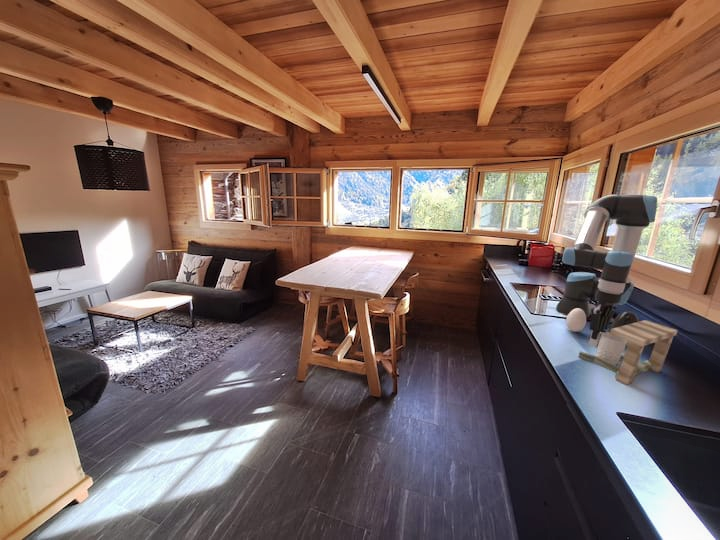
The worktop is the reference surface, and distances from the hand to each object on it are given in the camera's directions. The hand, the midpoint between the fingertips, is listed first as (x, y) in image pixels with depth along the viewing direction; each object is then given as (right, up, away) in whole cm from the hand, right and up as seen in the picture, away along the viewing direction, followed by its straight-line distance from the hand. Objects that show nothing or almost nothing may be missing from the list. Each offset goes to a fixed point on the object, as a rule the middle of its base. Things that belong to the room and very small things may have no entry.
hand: (593, 345), depth 116 cm
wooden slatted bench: (+3, -6, -6) cm, 9 cm away
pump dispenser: (+21, -2, +11) cm, 24 cm away
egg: (+8, +1, +21) cm, 22 cm away
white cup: (+3, -5, -3) cm, 6 cm away
